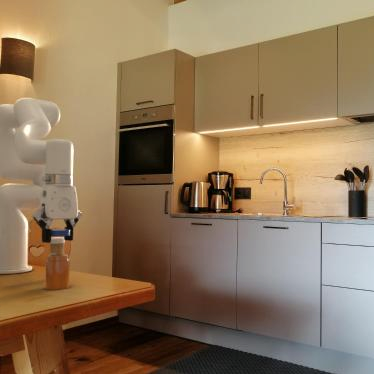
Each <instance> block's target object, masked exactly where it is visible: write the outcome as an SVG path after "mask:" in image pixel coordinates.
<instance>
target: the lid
mask: <svg viewBox="0 0 374 374" xmlns="http://www.w3.org/2000/svg"><path fill="white" fill-rule="evenodd" d="M50 229H51V237H64V236H69V235H71V231H70V229H64V228H62V227H61V228H50Z"/></svg>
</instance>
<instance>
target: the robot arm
mask: <svg viewBox="0 0 374 374" xmlns="http://www.w3.org/2000/svg"><path fill="white" fill-rule="evenodd" d="M60 119H61V109H60V107H59V106H58V105H57V103H56V102H54V101H50V100H44V99H38V98H33V97H22V98H19V99H17V100H15V102H14V103H13V104H12V103H2V104H0V176H1V178H3V179H4V180H7V181H19V182H20V181H21V182H32V183H4V184H2V185H0V275H10V274H13V275H14V274H22V273H27V272H30V271H32V270H33V266H32V265H28V261H29V260H28V259H29V256H28V255H29V221H28V218H27V217H26V216H25V214H24V213H23V212H22V211H25V210H26V211H33V210H34V211H35V210H36V211H35V212H34V213H33V214H32V216H31V217H32V219H33V220H34V221H35V223H36V224H37V225H38V226H39V229H41V242H42V243H44V244H45V243H46V244H50V242H51V238H52V236H51V229H52V228H50V227H51V225H52V223H53V220H54V221H56V220H57V221H58V220H63V221H64V224H65V226H64V228H63V229H70V231H71V235H69V236H63V237H64V240H65V241H69V242H71V241H74V228H75V227H76V224H77V223H78V222H79V220H80V219H81V217H82V215H83V213H82V212H81V211H80V210H79V202H78V194H77V188H76V186H75V185H74V148H75V147H74V143H73V141H71V140H69V139H66V138H65V139H64V138H50V139H48V140H47V139H44V138H46V137H47V136H48V135H49V134H50V132H51V129H52V128H53V127H55V126H57V125H58V124H59V122H60Z"/></svg>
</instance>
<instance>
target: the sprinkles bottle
mask: <svg viewBox="0 0 374 374" xmlns="http://www.w3.org/2000/svg"><path fill="white" fill-rule="evenodd" d="M65 244H66V240H64V236H51V242H50V243H49V245H50V246H49V255H54V254H65Z"/></svg>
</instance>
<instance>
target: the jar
mask: <svg viewBox="0 0 374 374" xmlns="http://www.w3.org/2000/svg"><path fill="white" fill-rule="evenodd" d="M46 258H47V260H45V289H46V290H50V291H51V290H52V291H53V290H54V291H55V290H57V291H58V290H64V289H65V290H66V289H68V288H70V278H71V277H70V275H71V272H70V271H71V270H70V269H71V261H70V260H71V259H69V254H66V253H64V254H54V255H50V254H48V255H47V257H46Z"/></svg>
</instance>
